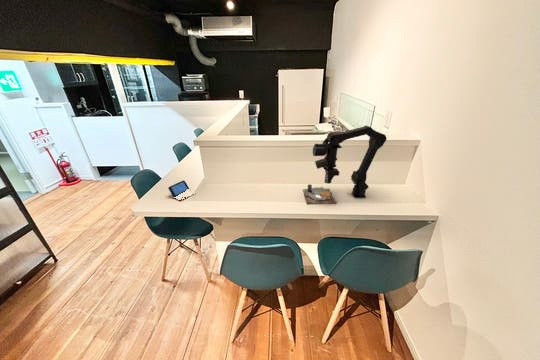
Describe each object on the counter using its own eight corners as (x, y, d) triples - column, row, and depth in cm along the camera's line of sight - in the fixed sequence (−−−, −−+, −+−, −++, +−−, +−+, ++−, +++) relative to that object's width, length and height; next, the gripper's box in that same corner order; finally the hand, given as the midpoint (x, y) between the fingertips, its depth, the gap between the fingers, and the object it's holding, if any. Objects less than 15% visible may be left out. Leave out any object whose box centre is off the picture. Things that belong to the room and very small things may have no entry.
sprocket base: (328, 190, 139) (329, 188, 138) (336, 203, 123) (336, 202, 123) (302, 190, 139) (303, 189, 138) (307, 204, 123) (307, 202, 123)
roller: (330, 180, 128) (331, 173, 126) (332, 183, 124) (333, 175, 122) (323, 180, 128) (324, 172, 126) (325, 183, 124) (326, 175, 122)
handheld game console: (181, 202, 129) (178, 191, 126) (170, 197, 134) (167, 187, 131) (197, 193, 139) (195, 183, 135) (186, 189, 144) (184, 179, 140)
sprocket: (310, 187, 140) (310, 179, 137) (333, 191, 134) (334, 183, 132) (303, 198, 127) (303, 190, 124) (328, 203, 121) (329, 195, 118)
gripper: (314, 150, 127) (312, 174, 134) (320, 161, 111) (317, 187, 117) (332, 150, 127) (329, 174, 134) (341, 161, 110) (337, 187, 117)
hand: (328, 180), depth 126 cm, fingers closed on roller, 4 cm apart
